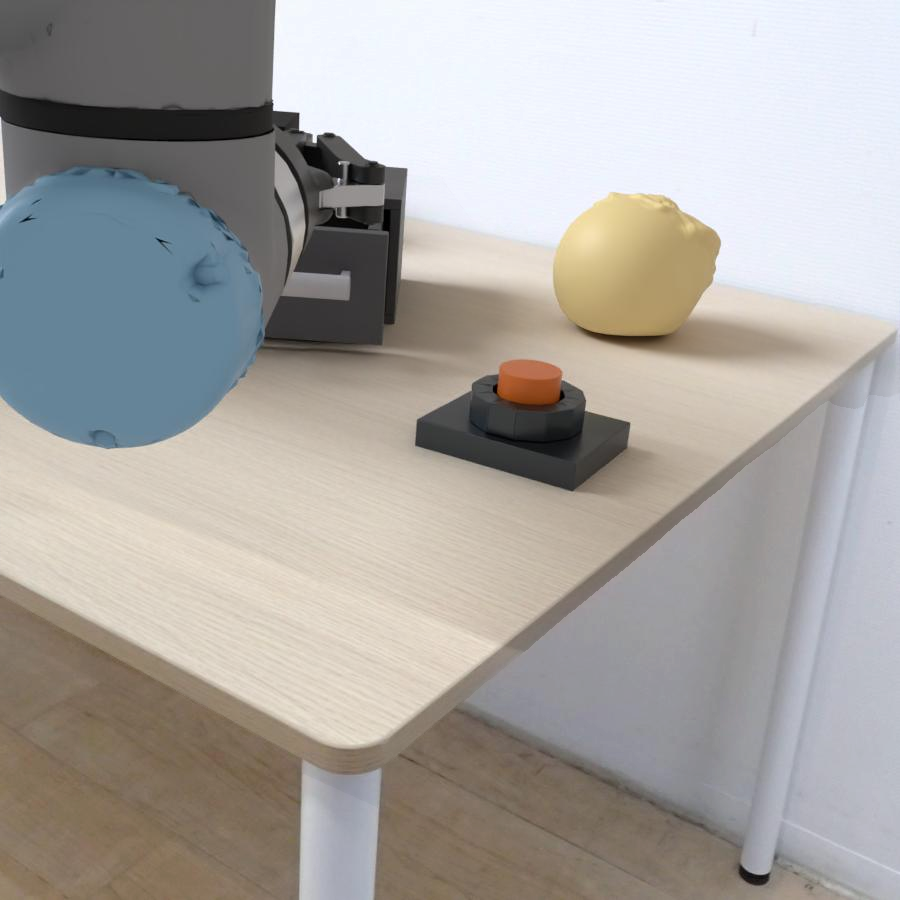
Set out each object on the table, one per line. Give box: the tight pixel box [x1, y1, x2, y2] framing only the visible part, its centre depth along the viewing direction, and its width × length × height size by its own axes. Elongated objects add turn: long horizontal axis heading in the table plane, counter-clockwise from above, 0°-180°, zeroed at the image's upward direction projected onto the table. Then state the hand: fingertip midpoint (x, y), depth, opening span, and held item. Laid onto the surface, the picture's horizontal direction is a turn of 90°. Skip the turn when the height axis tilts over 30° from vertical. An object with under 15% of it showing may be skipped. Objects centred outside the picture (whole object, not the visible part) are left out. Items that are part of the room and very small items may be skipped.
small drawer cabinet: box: [384, 166, 409, 326], centre depth 95 cm, size 15×13×10 cm
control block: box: [414, 373, 631, 492], centre depth 68 cm, size 10×8×4 cm
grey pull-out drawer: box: [264, 208, 389, 346], centre depth 85 cm, size 18×11×8 cm, turn 0°
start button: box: [497, 358, 563, 405], centre depth 67 cm, size 4×4×2 cm
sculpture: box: [552, 191, 722, 337], centre depth 92 cm, size 12×12×11 cm
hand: (285, 136), depth 66 cm, fingers closed
